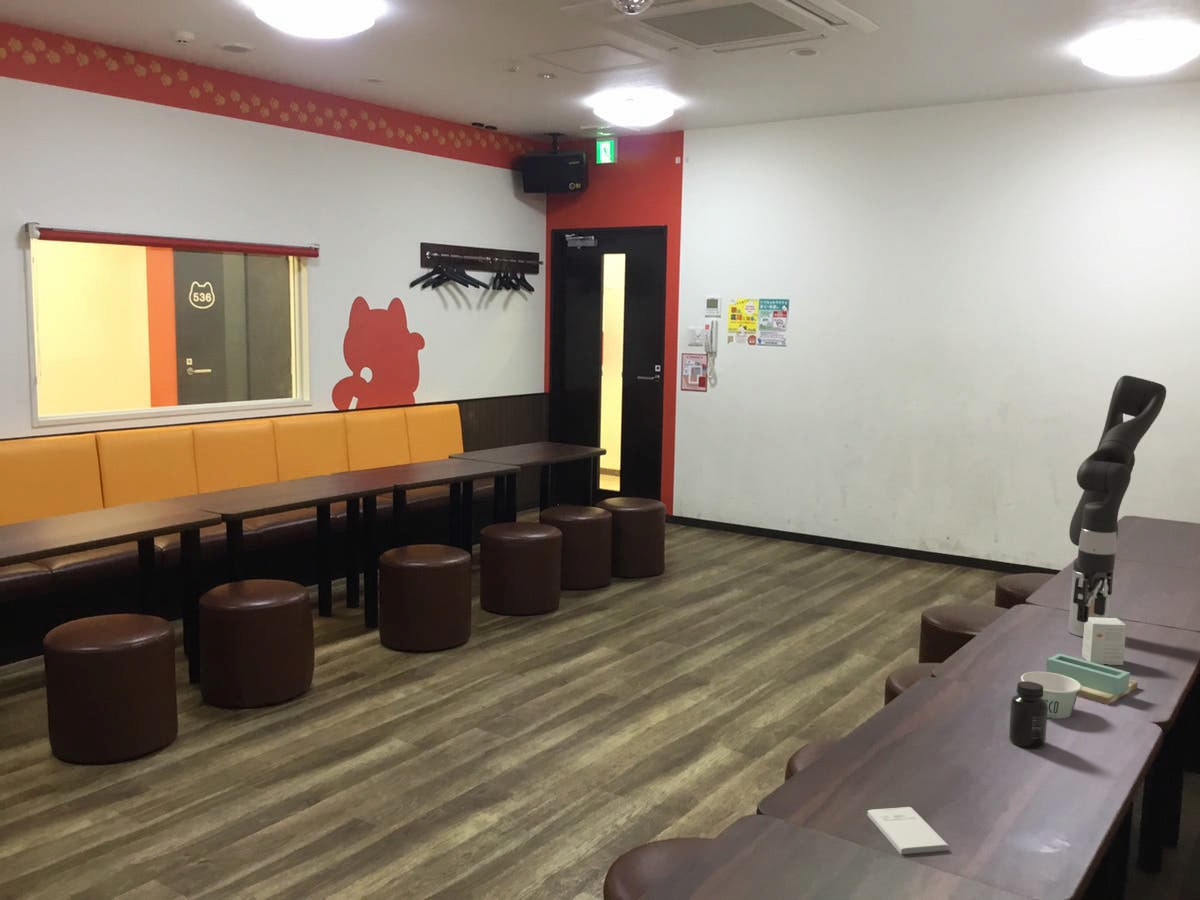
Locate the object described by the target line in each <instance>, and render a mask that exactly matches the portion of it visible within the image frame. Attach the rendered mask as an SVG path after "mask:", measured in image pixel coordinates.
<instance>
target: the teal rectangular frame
mask: <svg viewBox="0 0 1200 900" xmlns="http://www.w3.org/2000/svg"><path fill="white" fill-rule="evenodd" d="M1045 672H1050V673H1056V674H1060V675H1064V676H1067V677H1070V678H1072V679H1074V680H1076V681H1077V682H1079V683H1080V684H1081V686H1085V687H1088V688H1092V689H1095V690H1099V691H1102V692H1106V693H1109V694H1112V695H1116V696H1118V695H1120V694H1121V693H1123V692H1125V691H1127V690H1128V689H1129V679H1130V678H1131V676H1130V675H1131V672H1128V671H1125V670H1123V669H1118V668H1114V667H1110V666H1109V665H1104V664H1096V663H1093V662H1089V661H1087V660H1085V659H1083V658H1078V657H1074V656H1070V655H1066V654H1063V653H1057V654H1055V655H1053V656H1050V657H1049V658H1047V661H1046V671H1045Z"/></svg>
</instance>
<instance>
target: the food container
mask: <svg viewBox="0 0 1200 900" xmlns="http://www.w3.org/2000/svg"><path fill="white" fill-rule="evenodd" d="M1020 681H1021V682H1022V681H1029V682H1035V683H1038V684H1040V685H1042V686H1043V697H1042V698H1043V699H1044V700H1045V701H1046V702H1047V705H1048V712H1047V718H1049V717H1052V718H1051V719H1066V717H1067V718H1069V716H1070V717H1071V716H1072V714H1073V712H1074V707H1075V705H1076V701H1077V697H1078V696H1077V695H1078V691H1079V690H1081V684H1080V683H1079V682H1077V681H1076V680H1074V679H1072V678H1070V677H1067V676H1064V675H1060V674H1056V673H1050V672H1046V671H1029V672H1026V673H1023V674H1022V675H1021V676H1020Z"/></svg>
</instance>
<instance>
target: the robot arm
mask: <svg viewBox="0 0 1200 900" xmlns="http://www.w3.org/2000/svg"><path fill="white" fill-rule="evenodd" d="M1166 398H1167V388H1166V386H1165V385H1163V384H1162V383H1158V382H1156V381H1151V380H1150V379H1149V380H1148V379H1144V378H1141V377H1136V376H1132V375H1123V376H1120V378H1119V379H1118V380H1117V382H1116V383H1115V386H1114V388H1113V391H1112V395H1111V399H1110V403H1109V406H1108V411H1107V414H1106V418H1105V419H1106V420H1105V424H1104V427H1103V431H1102V434H1101V437H1100V439H1099V442H1098V445H1097V448H1096V450H1095V451H1094V452H1093V453H1092V454H1090V455H1089V456H1088V457H1087V458H1085V460H1084V461H1082V463H1081V465H1080V466H1079V468H1078V470H1077V473H1076V482H1077V484H1078V486H1079V487H1080V489H1082V490H1083V493H1082V495H1081V497H1080V499H1079V500H1078V501H1079V502H1078V503H1077V506H1076V508H1075V510H1074V513H1073V515H1072V518H1071V521H1070V524H1069V530H1068V531H1069V533H1068V534H1069V539H1070V542H1071V543H1072V544H1073V545H1074V546H1077V547H1078V551H1077V554H1078V555H1077V558H1075V559H1074V560H1073V568H1072V581H1071V594H1070V595H1071V596H1070V604H1069V605H1070V608H1069V618H1068V630H1067V631H1068V632H1069V633H1070V634H1072V635H1074V636H1077V637H1082V638H1083V635H1084V623H1086V622H1088V617H1098V618H1109V617H1108V616H1109V604H1110V596H1111V595H1112V594H1113V581H1114V579H1113V578H1114V571H1115V563H1116V554H1117V553H1116V552H1117V541H1118V536H1119V534H1118V533H1119V526H1118V519H1119V517H1118V516H1119V511H1120V508H1121V505H1122V501H1123V499H1124V496H1125V495H1126V493H1127V490H1128V488H1129V486H1130V483H1131V480H1132V479H1131V478H1132V477H1131V475H1132V472H1133V470H1134V469H1133V468H1134V466H1135V464H1136V463H1135V462H1136V456H1135V451H1136V449H1137V446H1138V444H1139V443H1140V441H1141V440H1142V439H1143V438H1144V437H1145V434H1146V433H1147V432H1148V431H1149V429H1150V428H1151V426H1152V425H1154V424H1153V423H1154V422H1155V421H1156V419H1157V418H1158V416H1159V415H1160V413H1161V411H1162V408H1163V405H1164V404H1165V400H1166ZM1124 415H1127V416H1130V417H1133V418H1131V419H1129V420H1127V421H1124Z"/></svg>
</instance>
